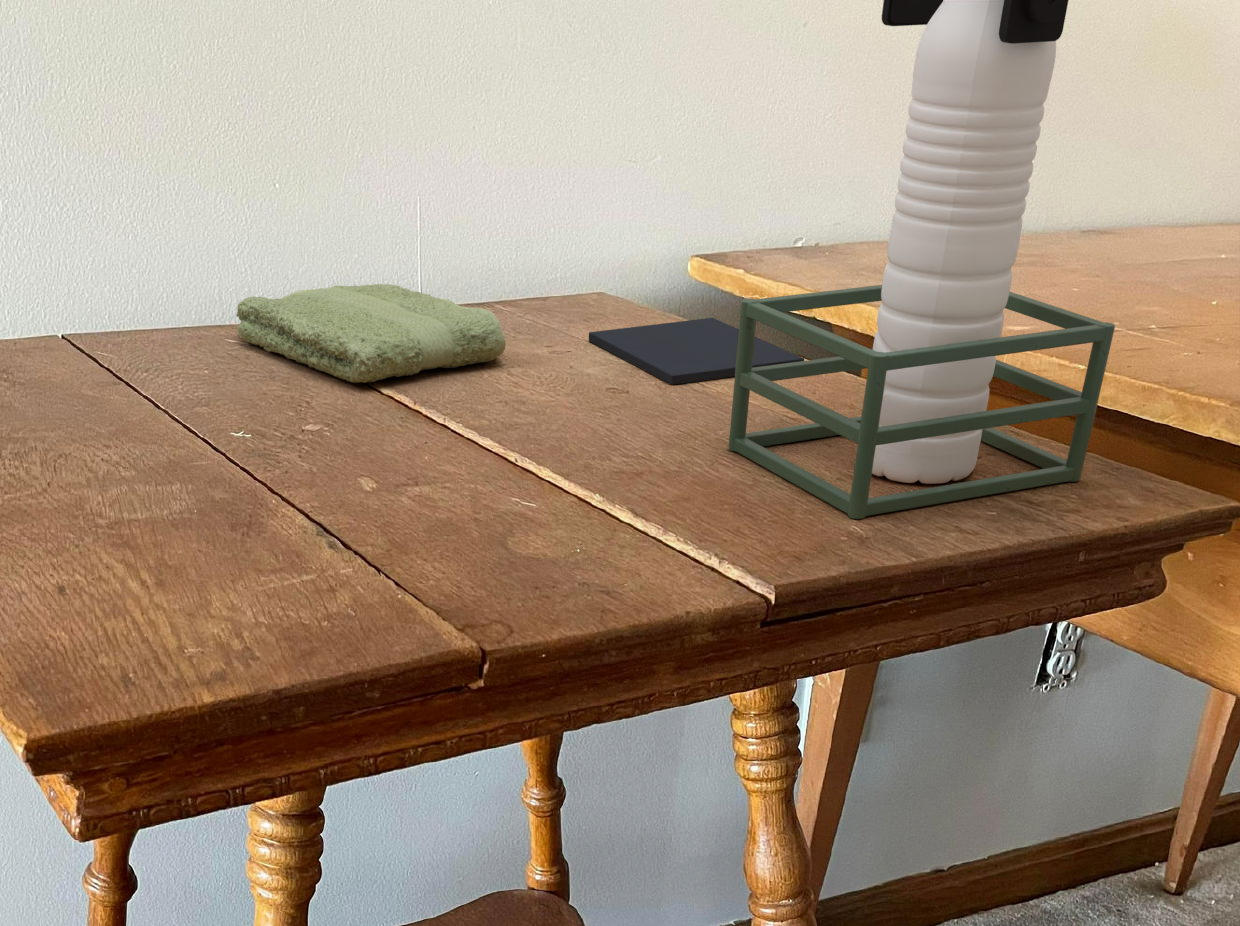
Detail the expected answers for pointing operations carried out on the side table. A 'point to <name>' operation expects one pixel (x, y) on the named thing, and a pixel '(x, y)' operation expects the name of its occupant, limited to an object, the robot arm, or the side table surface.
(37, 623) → the side table surface
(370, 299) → the washcloth
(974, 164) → the water bottle
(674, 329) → the mat
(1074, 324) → the green open frame box
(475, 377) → the side table surface
